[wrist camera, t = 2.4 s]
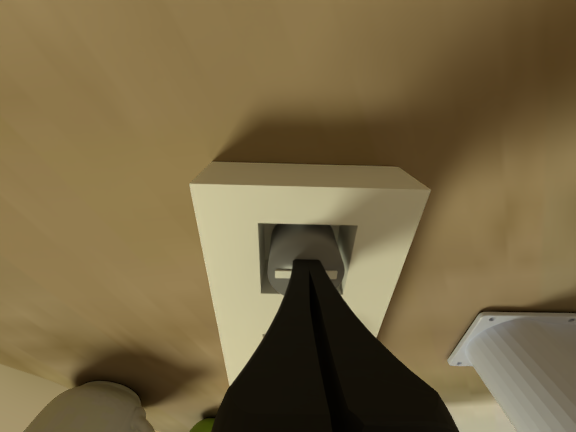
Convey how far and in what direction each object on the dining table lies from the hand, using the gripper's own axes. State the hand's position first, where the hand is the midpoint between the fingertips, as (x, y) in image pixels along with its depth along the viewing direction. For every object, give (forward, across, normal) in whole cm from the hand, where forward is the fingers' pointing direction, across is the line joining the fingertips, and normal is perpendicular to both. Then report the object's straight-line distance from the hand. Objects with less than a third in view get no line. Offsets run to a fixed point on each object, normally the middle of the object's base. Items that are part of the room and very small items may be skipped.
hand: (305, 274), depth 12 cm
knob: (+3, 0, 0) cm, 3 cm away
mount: (+4, 0, +9) cm, 10 cm away
